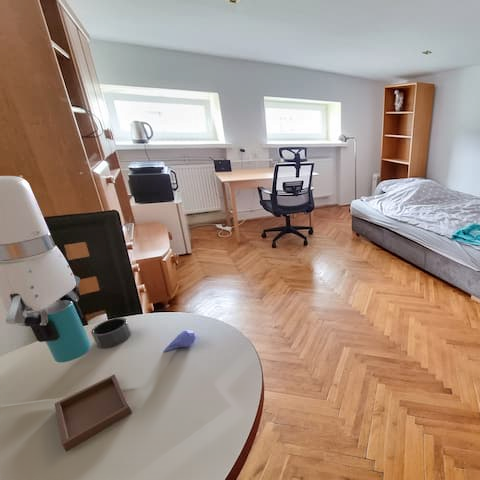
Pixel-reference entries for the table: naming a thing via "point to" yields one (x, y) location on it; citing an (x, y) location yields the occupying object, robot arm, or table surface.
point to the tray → (90, 411)
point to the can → (66, 332)
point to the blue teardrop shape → (182, 340)
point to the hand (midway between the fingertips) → (62, 328)
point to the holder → (111, 333)
